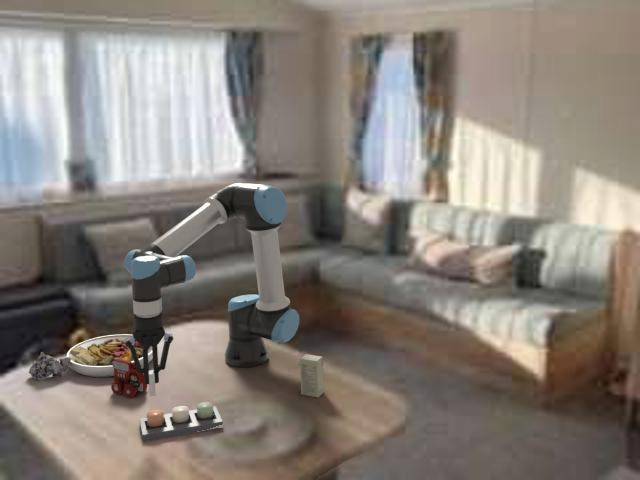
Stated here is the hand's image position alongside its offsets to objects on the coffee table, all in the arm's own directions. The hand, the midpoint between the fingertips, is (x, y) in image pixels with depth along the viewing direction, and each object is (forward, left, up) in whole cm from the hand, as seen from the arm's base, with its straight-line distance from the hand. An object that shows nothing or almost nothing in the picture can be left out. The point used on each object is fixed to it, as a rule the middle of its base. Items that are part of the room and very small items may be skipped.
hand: (152, 393), depth 185 cm
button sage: (-14, 0, -9) cm, 17 cm away
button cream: (-7, 0, -9) cm, 11 cm away
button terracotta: (0, 0, -9) cm, 9 cm away
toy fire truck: (+5, -28, -11) cm, 30 cm away
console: (-7, 0, -11) cm, 13 cm away
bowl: (+9, -55, -12) cm, 57 cm away
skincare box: (-49, -7, -11) cm, 51 cm away
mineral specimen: (+30, -49, -11) cm, 58 cm away
